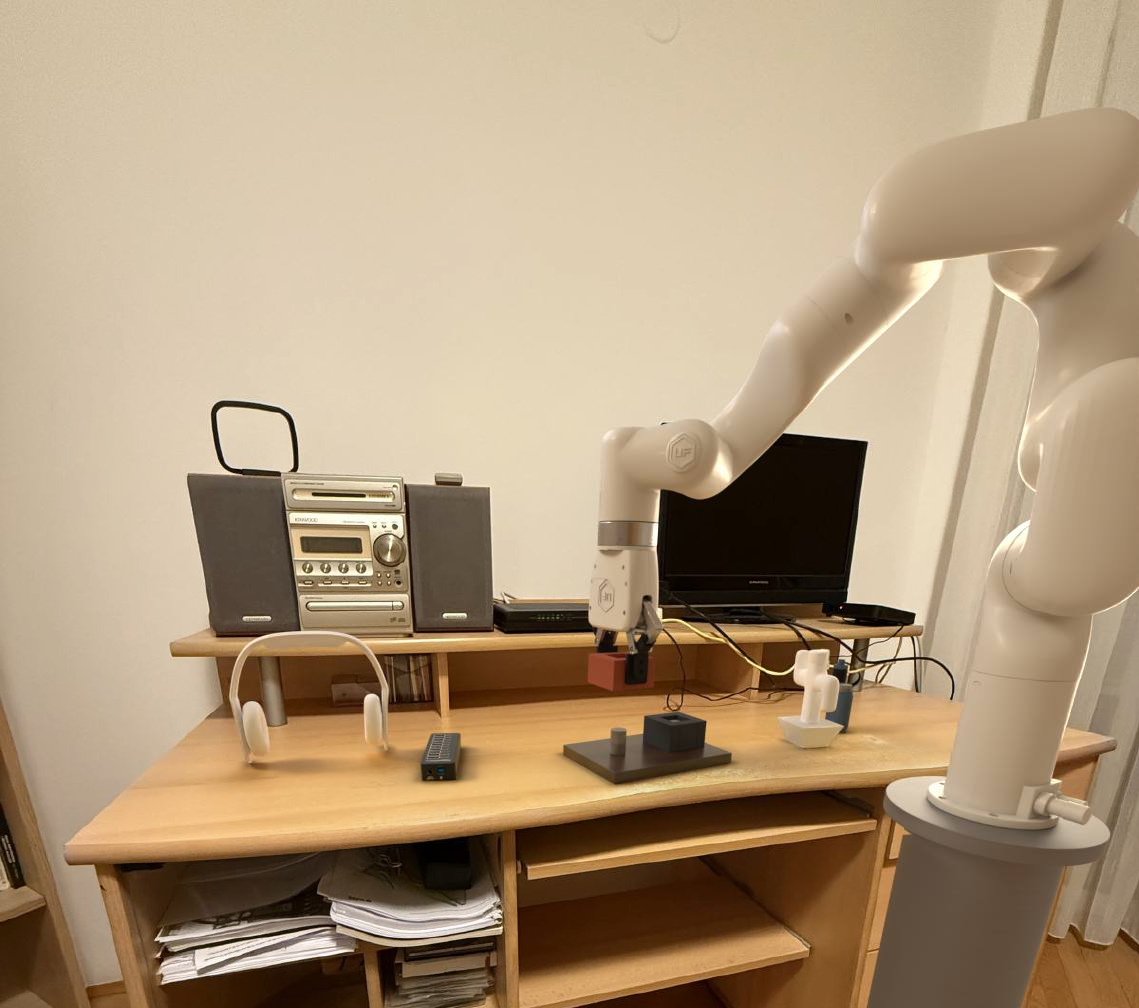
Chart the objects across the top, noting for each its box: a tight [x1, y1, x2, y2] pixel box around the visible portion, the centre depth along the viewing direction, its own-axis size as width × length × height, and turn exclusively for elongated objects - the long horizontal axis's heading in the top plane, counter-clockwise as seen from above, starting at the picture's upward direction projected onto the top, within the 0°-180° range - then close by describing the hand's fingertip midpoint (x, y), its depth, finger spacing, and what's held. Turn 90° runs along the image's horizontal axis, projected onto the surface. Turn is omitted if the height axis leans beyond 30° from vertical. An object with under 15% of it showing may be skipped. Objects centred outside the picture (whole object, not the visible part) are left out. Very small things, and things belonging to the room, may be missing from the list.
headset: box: [228, 630, 390, 764], centre depth 82 cm, size 20×7×18 cm, turn 110°
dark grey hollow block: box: [642, 711, 707, 753], centre depth 89 cm, size 6×6×4 cm
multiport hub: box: [420, 732, 462, 782], centre depth 84 cm, size 4×14×2 cm, turn 7°
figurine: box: [776, 648, 844, 749], centre depth 94 cm, size 7×9×15 cm
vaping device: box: [824, 658, 854, 734], centre depth 103 cm, size 3×5×12 cm, turn 4°
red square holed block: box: [587, 650, 656, 692], centre depth 81 cm, size 6×6×4 cm
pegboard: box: [562, 720, 733, 785], centre depth 87 cm, size 14×20×5 cm
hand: (620, 677), depth 82 cm, fingers closed on red square holed block, 6 cm apart
